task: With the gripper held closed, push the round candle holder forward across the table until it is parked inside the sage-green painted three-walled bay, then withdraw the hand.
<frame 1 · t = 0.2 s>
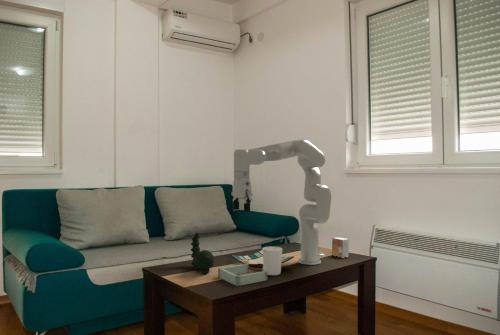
hand: (241, 210, 187), 31 cm above the table, fingers open, 9 cm apart
bay: (243, 278, 180), on the table
small box: (340, 256, 226), on the table
candle holder: (272, 273, 190), on the table
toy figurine: (201, 270, 194), on the table
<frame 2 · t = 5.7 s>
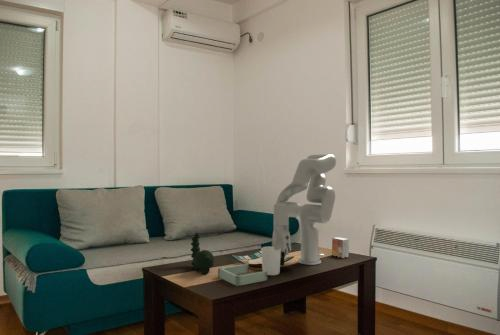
hand: (280, 264, 193), 3 cm above the table, fingers closed
candle holder: (271, 273, 190), on the table, touching gripper
everything else where it was.
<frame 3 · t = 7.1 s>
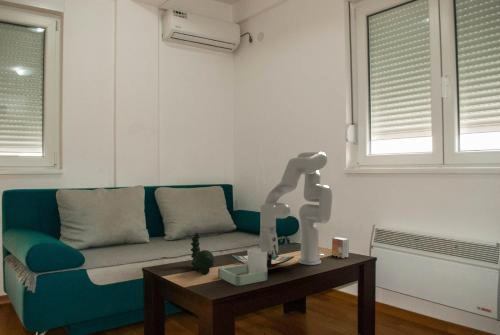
hand: (267, 267, 188), 3 cm above the table, fingers closed
candle holder: (257, 275, 186), on the table, touching gripper
everything else where it was.
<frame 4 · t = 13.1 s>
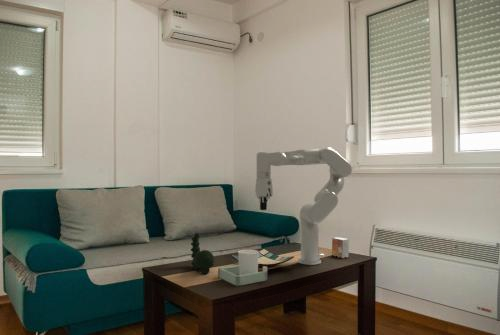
hand: (263, 209, 206), 29 cm above the table, fingers closed
candle holder: (248, 277, 183), on the table
everything else where it was.
at the end: candle holder inside the target area (3.2 cm from its centre), on the table; candle holder moved 13.6 cm from its start; candle holder tilted 0° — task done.
